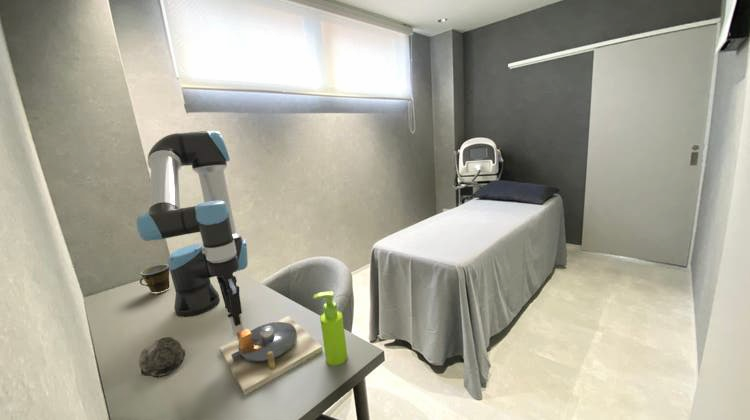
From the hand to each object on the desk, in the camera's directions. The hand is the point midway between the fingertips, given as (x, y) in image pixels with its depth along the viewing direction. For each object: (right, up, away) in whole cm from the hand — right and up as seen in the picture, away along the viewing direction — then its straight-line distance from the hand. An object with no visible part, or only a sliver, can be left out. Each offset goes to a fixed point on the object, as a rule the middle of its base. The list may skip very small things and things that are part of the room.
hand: (238, 332), depth 92 cm
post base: (+9, -6, 0) cm, 11 cm away
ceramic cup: (-53, 0, +43) cm, 68 cm away
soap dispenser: (+29, -6, -4) cm, 29 cm away
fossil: (-20, -9, -3) cm, 22 cm away
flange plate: (+8, -3, -1) cm, 9 cm away
